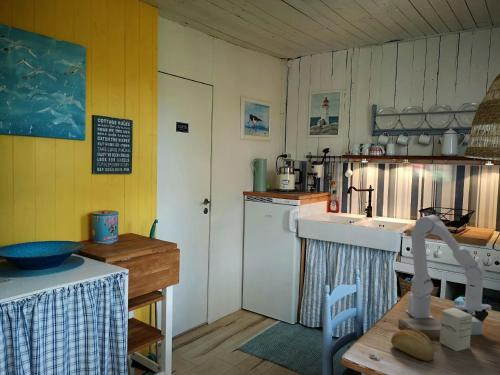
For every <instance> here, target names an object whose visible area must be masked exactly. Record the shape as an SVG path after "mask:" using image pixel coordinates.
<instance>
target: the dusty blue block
mask: <svg viewBox="0 0 500 375" xmlns="http://www.w3.org/2000/svg"><path fill="white" fill-rule="evenodd" d="M482 329H483V323H482V321H480V320H478V319H477V318H475V316H472V325H471V335H482Z"/></svg>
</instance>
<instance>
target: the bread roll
mask: <svg viewBox="0 0 500 375" xmlns="http://www.w3.org/2000/svg"><path fill="white" fill-rule="evenodd" d="M390 341H391V342H390V344H391V345H392V346H393V347H394V348H396V349H398V350H400V351H402V352H404V353H406V354H408V355H410V356H413V357H414V358H417V359H419V360H420V361H424V362H430V361H433V359H434V356H435V349H434V346H433V343H432V341H431V338H428V337H427V336H426V335H425V334H424V333H422V332H420V331H418V330H415V329H411V328H407V329H401V330H399V331H397V332H395V333H393V335H392V337H391V340H390Z"/></svg>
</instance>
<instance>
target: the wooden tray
mask: <svg viewBox="0 0 500 375" xmlns="http://www.w3.org/2000/svg"><path fill="white" fill-rule="evenodd" d="M397 324H398V325H397V326H398V327H399V328H401V330H403V329H407V328H411V329H415V330H418V331H420V332H422V333H424V334H425V335H426V336H427V337H428V338H429V339H440V329H441V321H438V320H437V319H435V317H433V318H414V317H411V318H399V319H398V323H397Z"/></svg>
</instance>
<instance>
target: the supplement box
mask: <svg viewBox="0 0 500 375" xmlns="http://www.w3.org/2000/svg"><path fill="white" fill-rule="evenodd" d="M472 317H473V314H468V313H466V312H463V311H461V310H459V309H456V308H454V307H452V308H447V309H442V310H441V318H440V319H441V321H440V323H441V329H440V338H439V343H440V344H442V345H443V346H446V347H448V348H450V349H451V350H453V351H455V352H459V351H463V350H466V349H470V348H471V345H470V344H471V337H472V336H471V325H472Z"/></svg>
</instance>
